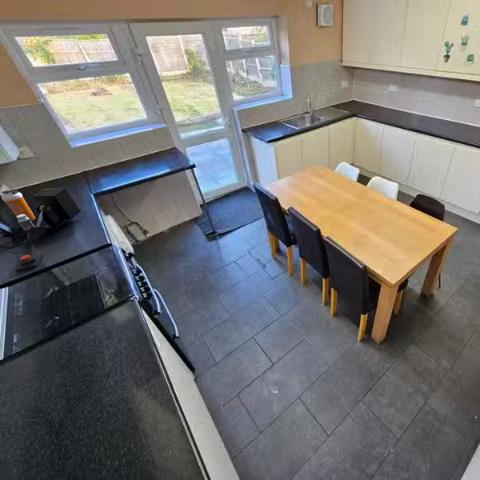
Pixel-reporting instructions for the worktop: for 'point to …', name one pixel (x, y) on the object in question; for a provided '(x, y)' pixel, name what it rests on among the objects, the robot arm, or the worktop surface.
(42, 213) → the toaster lever
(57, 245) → the worktop surface
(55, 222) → the lever bracket
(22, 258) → the timer button
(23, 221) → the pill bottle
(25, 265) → the timer block
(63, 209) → the toaster
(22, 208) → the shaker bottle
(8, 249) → the worktop surface
